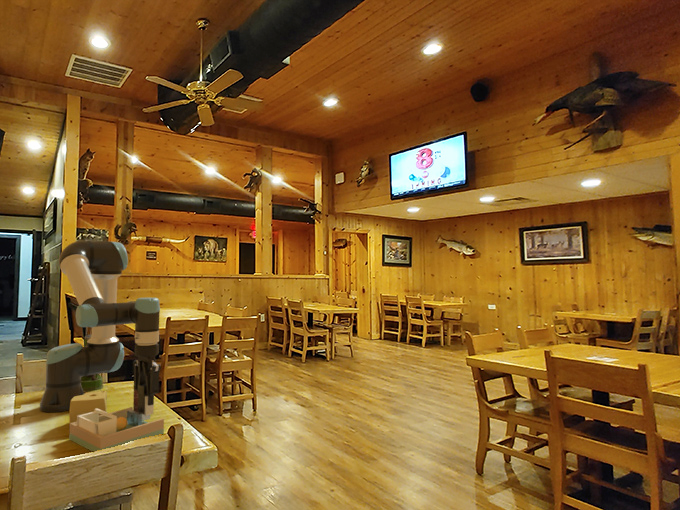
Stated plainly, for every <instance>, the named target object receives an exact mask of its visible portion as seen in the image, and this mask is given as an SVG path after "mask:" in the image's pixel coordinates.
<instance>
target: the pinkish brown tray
mask: <svg viewBox="0 0 680 510" xmlns="http://www.w3.org/2000/svg"><path fill="white" fill-rule="evenodd" d="M128 410H133V407H127V408H123V409H120V410H115V411H112V412H109V413H110V414H113V415H115V416H117V418H119V417H124V418H126V419H127V411H128ZM109 419H112V418H109V417H107V416H104V415H100V416H99V422H102V421H106V420H109ZM164 429H165V419H164V418H159V419H156V420H152V421H149V422H148V421H147V420H144V421H142V425H139V426H134V425H131V424H129V423H127V426H126V427H125V428H124V429H123V430H117V429H116V433H112V434H109V435H106V436H101V435H99V434H97V435H96V434H94V433H92V432H89V431H87V430H85V429H83V428H81V427H79V426H77V422H73V423H70V422H69V438H68V439H69V440H70V441H71V442H73V443H75V444H78V445H79V446H81V447H83V448H85V449H87V450H88V449H89V451H90V452H92V451H97V450H102V449H106V448H111V447H115V446H118V445H122V444H125V443H128V442H130V441H134V440H137V439H141V438H145V437H149V436H155V435H159V434H164V431H165V430H164Z"/></svg>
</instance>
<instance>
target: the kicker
mask: <svg viewBox="0 0 680 510" xmlns="http://www.w3.org/2000/svg"><path fill="white" fill-rule="evenodd" d="M146 394H147V393H146V383H145V384H141V385H138V412H136V411H133V410H128V411H127V423H129V424H131V425H134V426H139V425H142V421H147V420H151V415H147V416H145V395H146Z"/></svg>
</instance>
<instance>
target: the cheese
mask: <svg viewBox="0 0 680 510" xmlns="http://www.w3.org/2000/svg"><path fill="white" fill-rule="evenodd" d="M107 394H108V393H107V391H106V390H100V391H99V390H96V391H89V392H84V394H83V395H80V396H75V397H73V398H72V399H71V402H70V410H68V412H69V415H68V416H69V418H68V419H69V424H70V423H73V422H77V416H78V415H82V414H86V413H90V412H94V411H95V409H96V408H98V409H100V410H103V411H105V412H107V409H108V408H107V407H108V405H107V398H108V397H107ZM100 415H102V414H99V416H100Z"/></svg>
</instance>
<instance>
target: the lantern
mask: <svg viewBox="0 0 680 510" xmlns="http://www.w3.org/2000/svg"><path fill="white" fill-rule="evenodd" d="M87 334H88V327H85V336H84V341H83V345H82V347H85V346H87V341H88V340H89V339H90V338H91V337H92V329H89V334H88V335H87ZM81 386H82V388H83V391H84V393H88V392H96V391H99V390H102V389H103V388H104V379H103V376H101V374H95V375H88V376H82V377H81Z"/></svg>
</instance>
